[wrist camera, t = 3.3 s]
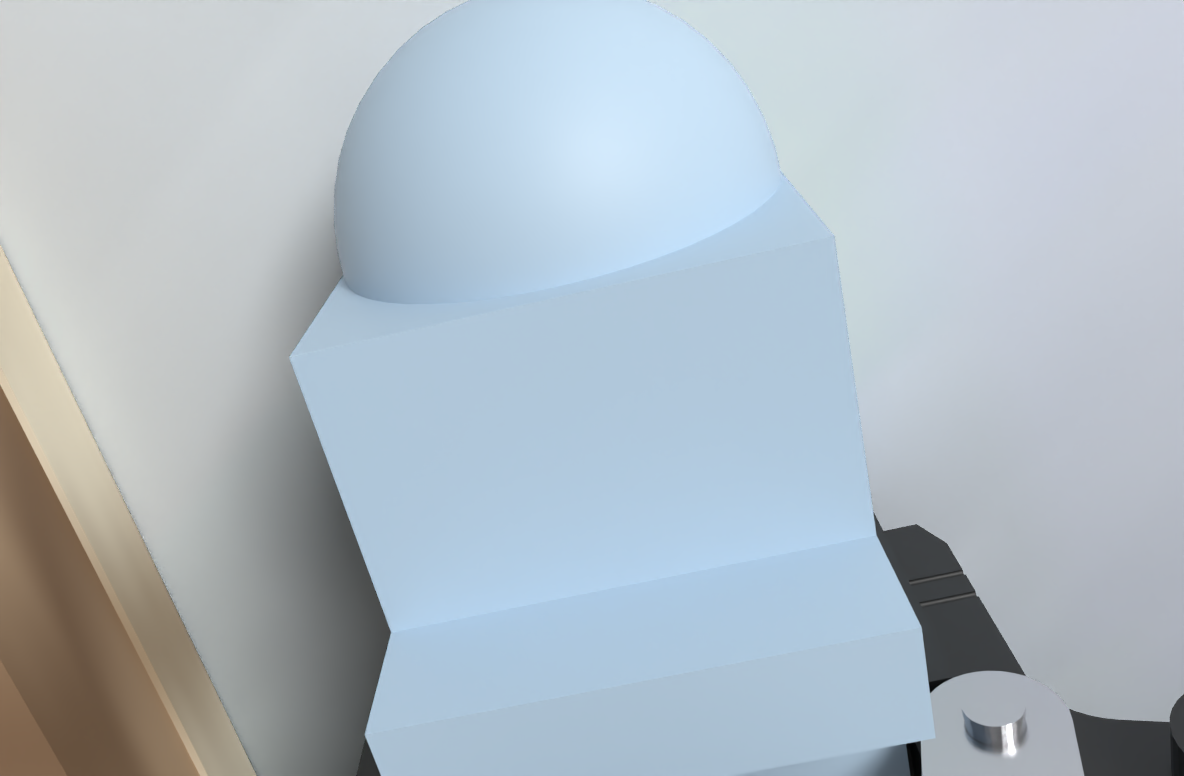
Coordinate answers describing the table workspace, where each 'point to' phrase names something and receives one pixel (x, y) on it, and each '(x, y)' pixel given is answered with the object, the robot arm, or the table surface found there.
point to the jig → (85, 598)
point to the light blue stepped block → (601, 417)
